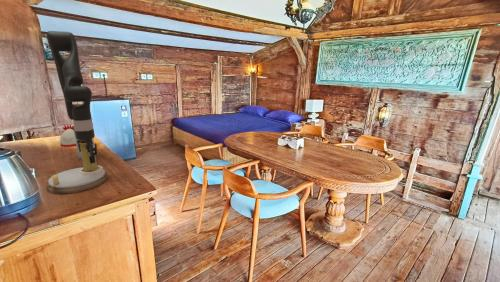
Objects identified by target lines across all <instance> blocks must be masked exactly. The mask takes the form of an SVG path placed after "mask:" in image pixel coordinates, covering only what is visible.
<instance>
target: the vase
mask: <svg viewBox="0 0 500 282" xmlns="http://www.w3.org/2000/svg"><path fill="white" fill-rule="evenodd" d="M92 142H93V141H92ZM84 144H85V145H86V143H81V142H80V148H81V153H82V159H81V160H82V167H83V170H84V171H92V170H95V169H97V168H98V163H97V162H98V161H97V158H96V156H95V161H96V162H95V163H92V164H91V163H90V160H89V155H88V152H86V150H85V147H84ZM86 146H87V145H86ZM88 150H90V149H88Z"/></svg>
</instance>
